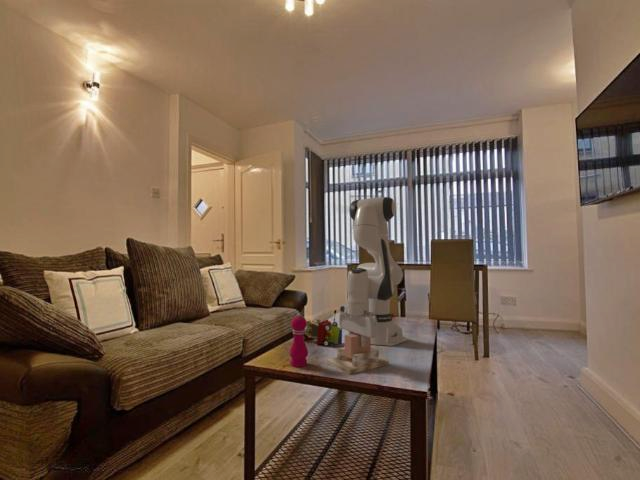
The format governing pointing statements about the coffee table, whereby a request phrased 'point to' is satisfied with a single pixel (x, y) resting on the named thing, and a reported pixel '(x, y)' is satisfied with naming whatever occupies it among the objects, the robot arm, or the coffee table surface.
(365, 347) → the upright pink tile
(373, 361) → the bookend rack
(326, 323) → the robot toy
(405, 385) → the coffee table surface
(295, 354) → the pepper mill
